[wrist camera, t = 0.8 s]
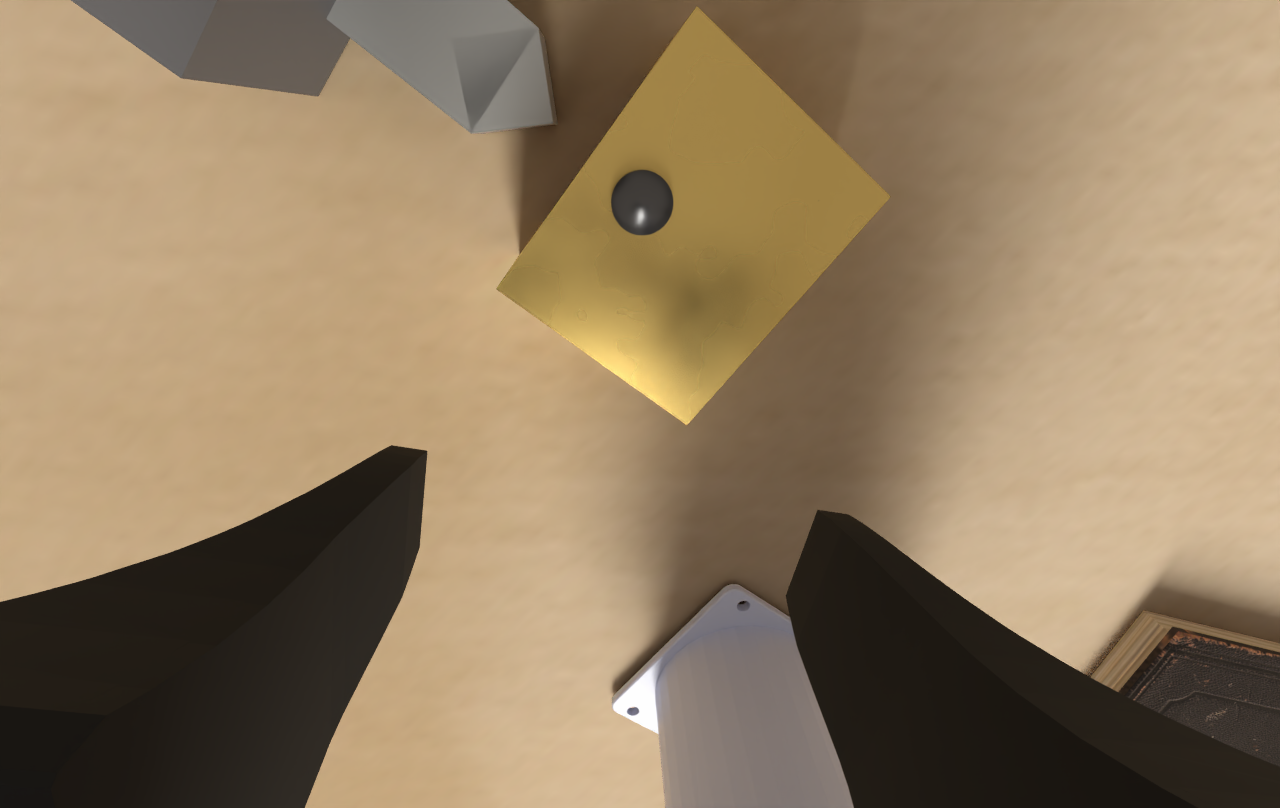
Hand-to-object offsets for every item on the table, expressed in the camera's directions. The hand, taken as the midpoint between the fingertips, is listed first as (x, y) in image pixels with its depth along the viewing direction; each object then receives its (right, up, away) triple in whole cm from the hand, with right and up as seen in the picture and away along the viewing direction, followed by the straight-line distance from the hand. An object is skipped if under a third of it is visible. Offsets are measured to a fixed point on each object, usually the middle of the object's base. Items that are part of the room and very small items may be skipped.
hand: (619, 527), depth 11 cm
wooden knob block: (+1, +8, +8) cm, 11 cm away
